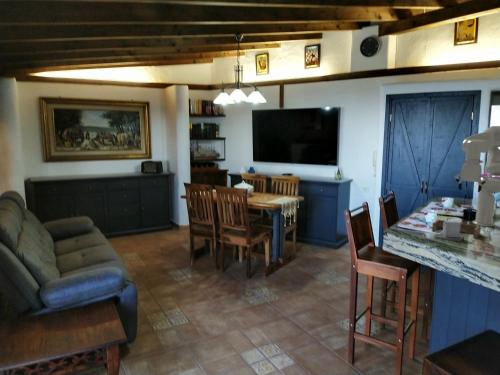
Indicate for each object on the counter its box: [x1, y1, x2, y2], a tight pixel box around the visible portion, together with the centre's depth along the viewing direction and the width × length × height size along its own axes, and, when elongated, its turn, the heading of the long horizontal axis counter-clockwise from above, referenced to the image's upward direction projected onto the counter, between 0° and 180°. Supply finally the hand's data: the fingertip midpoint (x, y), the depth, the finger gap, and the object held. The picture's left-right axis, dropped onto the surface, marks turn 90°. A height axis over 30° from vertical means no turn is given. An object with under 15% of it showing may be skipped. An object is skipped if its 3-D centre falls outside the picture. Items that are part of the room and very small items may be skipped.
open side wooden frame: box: [431, 219, 480, 239], centre depth 229 cm, size 12×23×5 cm, turn 51°
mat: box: [436, 231, 465, 242], centre depth 219 cm, size 12×12×1 cm
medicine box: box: [442, 220, 462, 237], centre depth 218 cm, size 8×4×9 cm, turn 84°
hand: (469, 190), depth 224 cm, fingers open, 9 cm apart
